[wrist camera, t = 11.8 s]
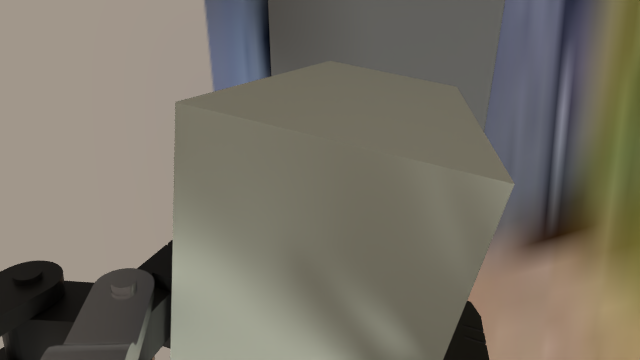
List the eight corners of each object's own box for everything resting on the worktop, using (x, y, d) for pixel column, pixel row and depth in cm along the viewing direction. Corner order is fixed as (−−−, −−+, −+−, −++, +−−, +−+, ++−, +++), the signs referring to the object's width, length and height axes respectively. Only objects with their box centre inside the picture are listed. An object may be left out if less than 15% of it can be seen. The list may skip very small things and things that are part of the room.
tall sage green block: (357, 569, 11) (514, 183, 6) (167, 487, 12) (175, 101, 7) (392, 295, 22) (456, 86, 17) (294, 265, 23) (330, 60, 18)
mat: (271, -23, 28) (267, -24, 27) (507, -31, 24) (510, -33, 24) (281, 241, 36) (278, 245, 35) (461, 265, 32) (462, 270, 31)
